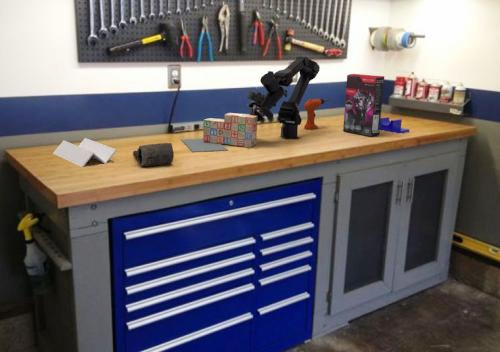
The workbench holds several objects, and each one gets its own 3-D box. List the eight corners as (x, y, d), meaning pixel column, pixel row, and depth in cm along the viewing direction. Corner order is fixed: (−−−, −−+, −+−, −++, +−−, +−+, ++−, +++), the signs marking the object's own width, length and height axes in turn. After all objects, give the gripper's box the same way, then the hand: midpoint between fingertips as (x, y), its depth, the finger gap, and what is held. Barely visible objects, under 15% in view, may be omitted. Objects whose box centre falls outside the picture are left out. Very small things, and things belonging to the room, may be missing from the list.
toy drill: (333, 123, 261) (333, 93, 256) (309, 132, 249) (308, 101, 244) (325, 122, 264) (325, 93, 259) (301, 130, 252) (300, 100, 247)
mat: (213, 138, 223) (213, 138, 223) (228, 150, 201) (228, 149, 201) (180, 140, 219) (180, 139, 219) (192, 152, 197) (192, 151, 197)
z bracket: (94, 177, 176) (81, 167, 172) (65, 163, 194) (52, 153, 190) (116, 150, 179) (104, 138, 175) (85, 138, 197) (73, 128, 193)
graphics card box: (341, 131, 247) (345, 73, 240) (350, 130, 251) (355, 73, 244) (371, 137, 234) (376, 76, 227) (380, 135, 239) (385, 76, 232)
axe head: (183, 140, 175) (139, 146, 170) (186, 163, 177) (142, 169, 171) (166, 137, 199) (127, 142, 194) (169, 156, 201) (130, 162, 196)
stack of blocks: (202, 142, 214) (203, 112, 210) (208, 139, 219) (209, 110, 216) (251, 147, 207) (252, 117, 204) (256, 144, 213) (257, 115, 210)
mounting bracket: (409, 132, 250) (410, 120, 248) (400, 134, 245) (401, 122, 244) (378, 127, 263) (379, 115, 262) (369, 128, 259) (370, 116, 257)
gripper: (251, 82, 219) (226, 108, 219) (266, 86, 202) (239, 115, 201) (268, 100, 224) (243, 126, 223) (284, 106, 206) (258, 134, 206)
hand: (245, 125), depth 213 cm, fingers closed
